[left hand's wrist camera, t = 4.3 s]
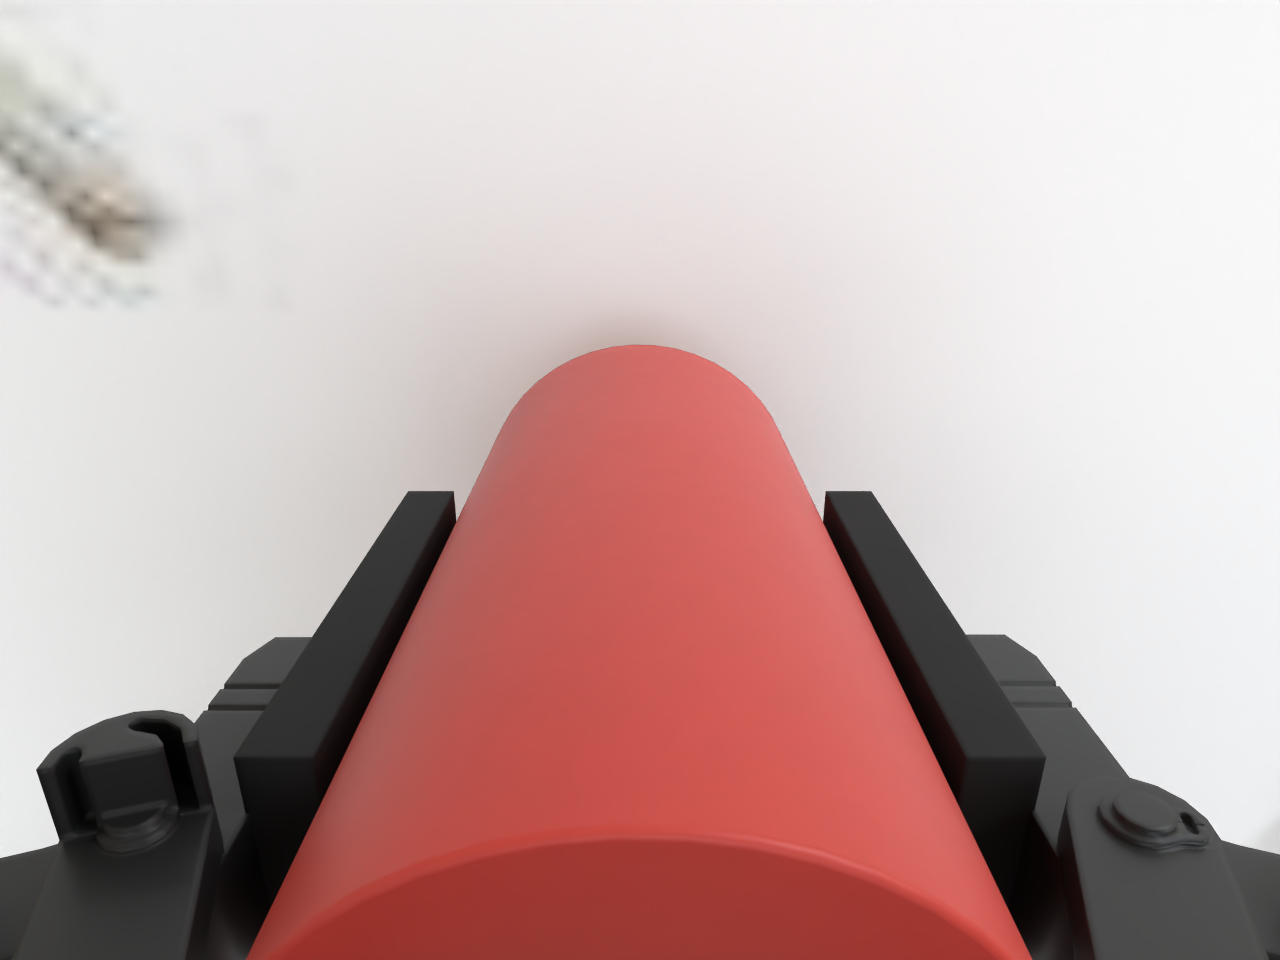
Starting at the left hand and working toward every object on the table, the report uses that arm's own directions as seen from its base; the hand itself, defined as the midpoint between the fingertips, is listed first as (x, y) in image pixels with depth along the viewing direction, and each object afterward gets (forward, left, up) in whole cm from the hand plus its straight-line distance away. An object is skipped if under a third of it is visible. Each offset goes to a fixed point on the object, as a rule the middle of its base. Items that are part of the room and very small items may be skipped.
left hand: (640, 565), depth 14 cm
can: (0, 0, -3) cm, 3 cm away
